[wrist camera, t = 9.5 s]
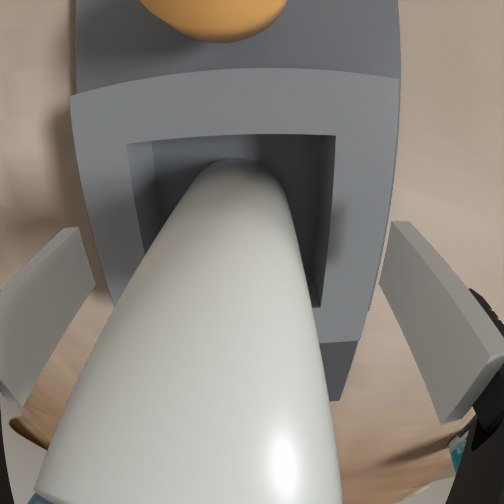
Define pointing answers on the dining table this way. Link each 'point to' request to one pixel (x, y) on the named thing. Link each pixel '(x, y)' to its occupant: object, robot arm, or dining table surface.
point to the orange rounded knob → (217, 17)
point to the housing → (244, 133)
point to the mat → (337, 365)
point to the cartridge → (205, 366)
